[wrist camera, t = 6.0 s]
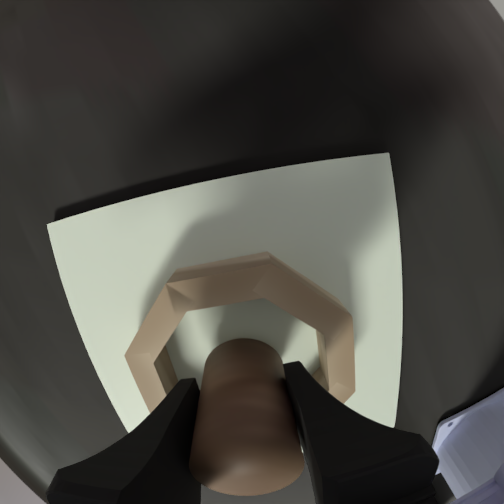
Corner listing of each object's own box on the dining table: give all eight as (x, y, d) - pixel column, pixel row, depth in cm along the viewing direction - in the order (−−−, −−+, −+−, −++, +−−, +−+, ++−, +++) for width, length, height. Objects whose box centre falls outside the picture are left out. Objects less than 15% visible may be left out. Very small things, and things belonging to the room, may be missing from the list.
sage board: (383, 153, 13) (388, 152, 12) (391, 421, 16) (394, 426, 16) (53, 222, 13) (46, 224, 12) (150, 459, 16) (148, 465, 16)
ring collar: (331, 239, 13) (346, 248, 11) (345, 406, 15) (355, 430, 13) (120, 279, 13) (102, 294, 11) (179, 432, 15) (173, 457, 13)
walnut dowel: (279, 332, 12) (302, 427, 7) (287, 394, 13) (305, 488, 8) (196, 343, 12) (174, 438, 7) (213, 403, 13) (204, 497, 8)
